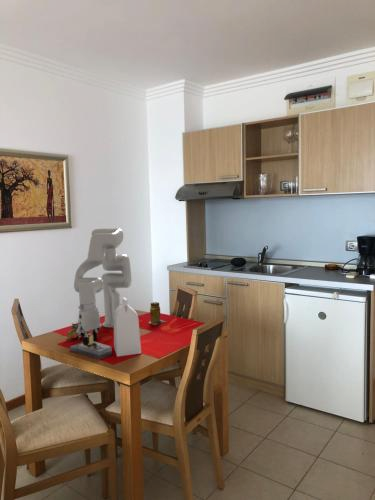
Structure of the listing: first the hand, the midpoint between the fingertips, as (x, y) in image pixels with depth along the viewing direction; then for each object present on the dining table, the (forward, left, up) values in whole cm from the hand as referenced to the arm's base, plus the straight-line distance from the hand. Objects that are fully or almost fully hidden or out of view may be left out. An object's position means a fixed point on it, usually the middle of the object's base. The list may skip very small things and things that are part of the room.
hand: (90, 342), depth 202 cm
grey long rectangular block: (0, 0, -5) cm, 5 cm away
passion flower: (-25, +3, -5) cm, 26 cm away
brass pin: (0, 0, -5) cm, 5 cm away
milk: (+9, +16, -5) cm, 19 cm away
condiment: (-25, +50, -5) cm, 56 cm away
